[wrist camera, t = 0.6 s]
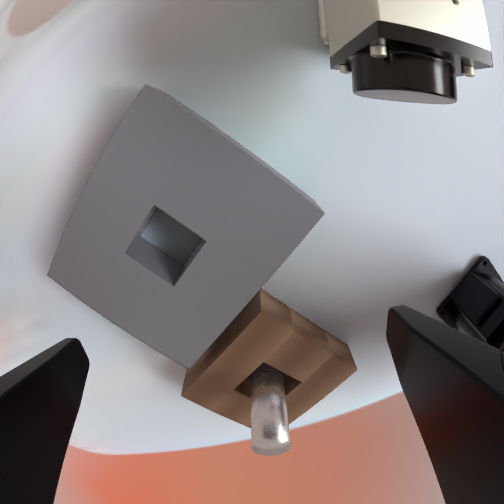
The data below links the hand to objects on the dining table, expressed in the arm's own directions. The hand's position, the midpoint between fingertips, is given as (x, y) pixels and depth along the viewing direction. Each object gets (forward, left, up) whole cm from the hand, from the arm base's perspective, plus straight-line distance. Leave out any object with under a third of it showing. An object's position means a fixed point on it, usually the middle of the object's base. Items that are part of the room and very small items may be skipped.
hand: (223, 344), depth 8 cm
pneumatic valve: (+2, -15, -13) cm, 20 cm away
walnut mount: (-9, +8, -13) cm, 18 cm away
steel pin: (-9, +8, -13) cm, 18 cm away
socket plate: (+3, +3, -13) cm, 14 cm away
